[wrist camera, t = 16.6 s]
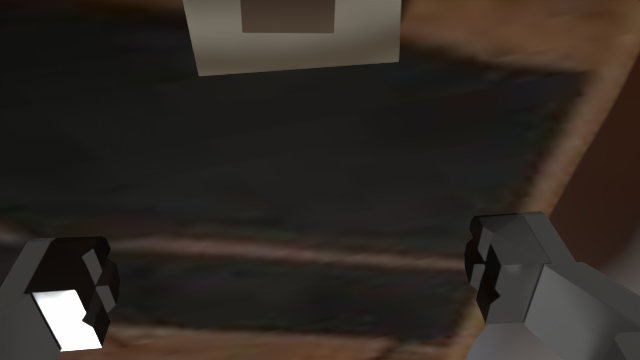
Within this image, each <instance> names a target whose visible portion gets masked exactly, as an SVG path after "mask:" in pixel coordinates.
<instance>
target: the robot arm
mask: <svg viewBox="0 0 640 360" xmlns="http://www.w3.org/2000/svg"><path fill="white" fill-rule="evenodd" d="M469 230H470V232H471V235H472V237H473V238H472V239H471V240H470V241H469V242H468V243H467V244H466V248H465V254H464V257H465V269H466V274H467V277H468V280H469V283H470V285H472V286H473V287H474V288H476V289H477V290H478V294H477V298H476V301H477V303H478V306H479V308H480V311H481V313H482V316H483V319H484V321H485V324H499V323H524V325H525V326H526V327H527V328H528V329H529V330H531V331H532V332H533V333H534V334H535V335H536V336H537V337H538V338H539V339H540V340H542V341H543V342H544V343H545V344H546V345H547V346H548V347H549V348H550V349H551V350H553V351H554V352H555V353H556V354H557V355H558V356H559V357H560V358H561V359H563V360H640V296H639V295H637V294H636V293H634V292H632V291H631V290H629V289H627V288H625V287H624V286H622V285H620V284H619V283H617V282H615V281H614V280H612V279H610V278H609V277H607V276H605V275H604V274H602V273H600V272H599V271H597V270H595V269H594V268H592V267H590V266H588V265H587V264H585V263H583V262H579V263H578V262H577V263H576V262H575V260H574V258H573V257H572V255H571V254H570V252H569V251H568V249H567V247H566V246H565V244H564V243H563V241H562V240H561V238H560V237H559V235H558V233H557V232H556V230H555V229H554V227H553V226H552V224H551V223H550V221H549V219H548V218H547V216H546V215H545V214H544V213H543V212H541V211H537V212H523V213H518V214H517V213H513V214H497V215H481V216H474V217H473V218H472V220H471V224H470V228H469ZM109 252H110V246H109V244H108V242H107V239H106V238H104V237H102V236H92V237H60V238H43V239H32V240H30V241H29V242H27V243H26V245H25V247H24V248H23V250H22V252H21V254H20V255H19V257H18V259H17V260H16V262H15V264H14V265H13V267H12V269H11V271H10V272H9V274H8V276H7V277H6V279H5V281H4V282H3V284H2V286H1V288H0V360H55V359H56V358H57V357H58V356H59V355H60V354H61V351H68V350H79V349H90V348H102V345H103V342H104V339H105V336H106V333H107V330H108V327H109V324H110V320H109V317H108V315H107V312H109V311H110V310H111V309H112V308H113V307H114V306H115V305H116V303H117V300H118V297H119V291H120V276H119V271H118V268H117V265H116V263H115V262H113V261H112V260H110V259H109V258H107V257H108V255H109Z"/></svg>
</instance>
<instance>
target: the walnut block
mask: <svg viewBox="0 0 640 360" xmlns="http://www.w3.org/2000/svg"><path fill="white" fill-rule="evenodd" d="M240 4H241V19H242V33H334V21H335V0H240Z"/></svg>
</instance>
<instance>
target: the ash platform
mask: <svg viewBox="0 0 640 360" xmlns="http://www.w3.org/2000/svg"><path fill="white" fill-rule="evenodd" d="M183 4H184V9H185V13H186V18H187V23H188V27H189V32H190V36H191V41H192V46H193V50H194V55H195V60H196V64H197V69H198V74H199V76H207V75H221V74H235V73H248V72H262V71H276V70H290V69H304V68H317V67H331V66H345V65H359V64H373V63H387V62H399V45H400V20H401V0H335V21H334V33H242V19H241V4H240V0H183Z"/></svg>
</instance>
